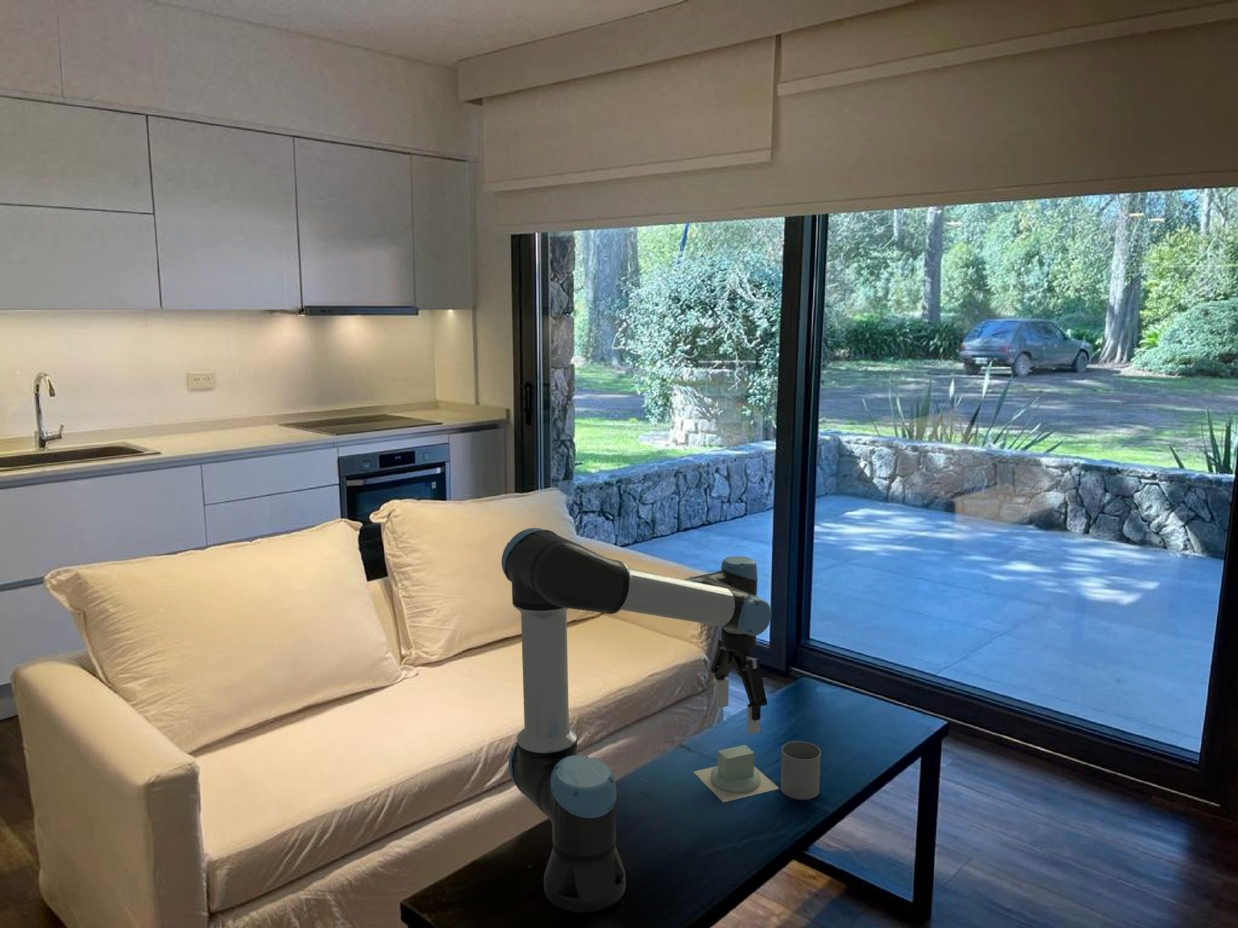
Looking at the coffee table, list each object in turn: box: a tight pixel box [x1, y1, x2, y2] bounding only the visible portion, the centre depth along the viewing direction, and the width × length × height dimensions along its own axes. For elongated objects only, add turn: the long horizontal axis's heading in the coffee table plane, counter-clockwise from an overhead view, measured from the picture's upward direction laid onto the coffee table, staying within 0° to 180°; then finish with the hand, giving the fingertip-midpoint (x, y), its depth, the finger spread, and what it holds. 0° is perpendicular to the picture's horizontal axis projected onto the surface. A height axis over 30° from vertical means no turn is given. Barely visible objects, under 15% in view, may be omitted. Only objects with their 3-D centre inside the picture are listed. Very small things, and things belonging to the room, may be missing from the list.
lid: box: [711, 744, 761, 793], centre depth 207 cm, size 11×11×7 cm
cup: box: [780, 740, 822, 801], centre depth 203 cm, size 8×8×10 cm
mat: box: [693, 765, 780, 803], centre depth 208 cm, size 14×14×1 cm
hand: (737, 719), depth 205 cm, fingers open, 13 cm apart
